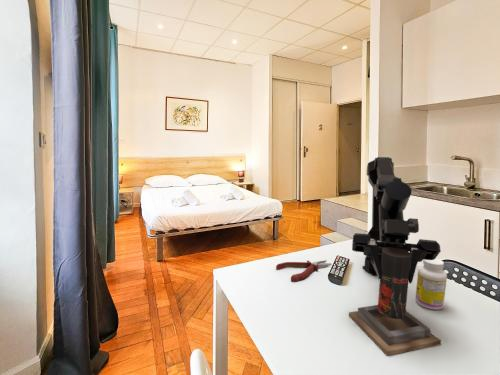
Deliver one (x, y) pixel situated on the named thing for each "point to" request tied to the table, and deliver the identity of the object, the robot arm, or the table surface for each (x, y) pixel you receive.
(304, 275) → the pliers
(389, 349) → the socket board
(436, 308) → the supplement bottle
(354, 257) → the table surface
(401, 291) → the deodorant
